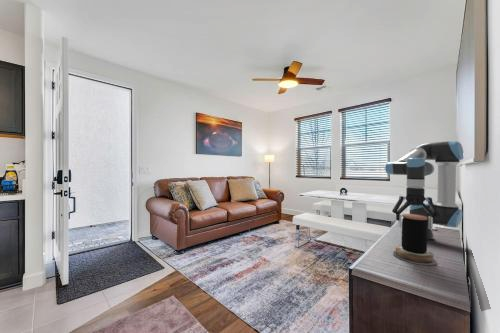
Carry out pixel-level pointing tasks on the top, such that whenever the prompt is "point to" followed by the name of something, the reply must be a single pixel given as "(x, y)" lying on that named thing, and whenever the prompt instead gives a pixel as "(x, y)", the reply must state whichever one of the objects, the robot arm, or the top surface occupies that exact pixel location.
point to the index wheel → (415, 255)
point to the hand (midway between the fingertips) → (414, 228)
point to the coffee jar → (414, 233)
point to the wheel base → (415, 262)
